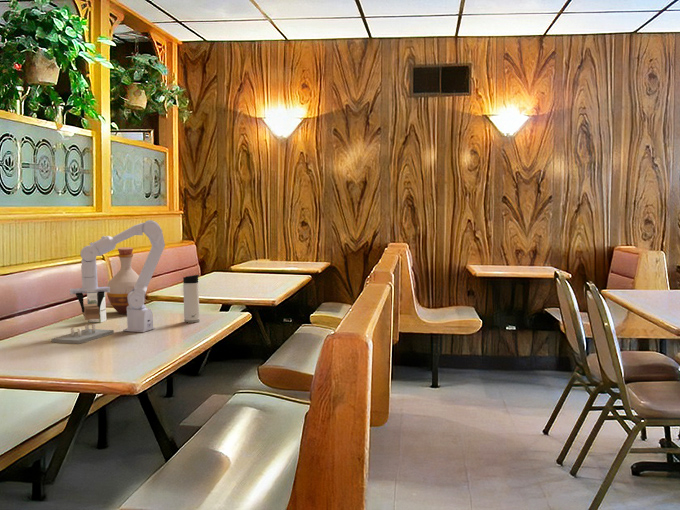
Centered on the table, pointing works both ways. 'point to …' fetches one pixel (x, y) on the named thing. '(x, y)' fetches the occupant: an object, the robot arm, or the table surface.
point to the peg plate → (82, 335)
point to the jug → (122, 282)
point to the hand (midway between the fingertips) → (90, 311)
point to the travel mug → (191, 298)
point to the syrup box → (102, 313)
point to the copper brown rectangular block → (91, 311)
